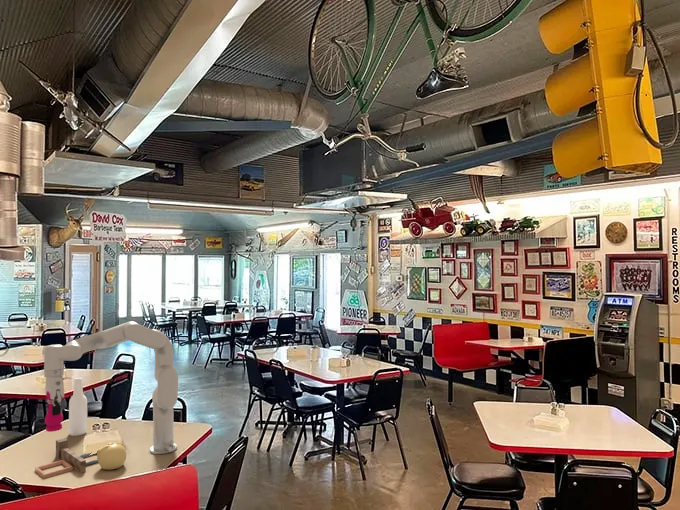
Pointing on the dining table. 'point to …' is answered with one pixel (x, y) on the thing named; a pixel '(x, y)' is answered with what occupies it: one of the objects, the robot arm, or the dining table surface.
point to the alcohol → (78, 410)
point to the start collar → (89, 461)
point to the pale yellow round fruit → (111, 456)
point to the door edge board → (69, 455)
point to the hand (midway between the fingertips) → (54, 412)
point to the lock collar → (40, 472)
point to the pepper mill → (52, 417)
